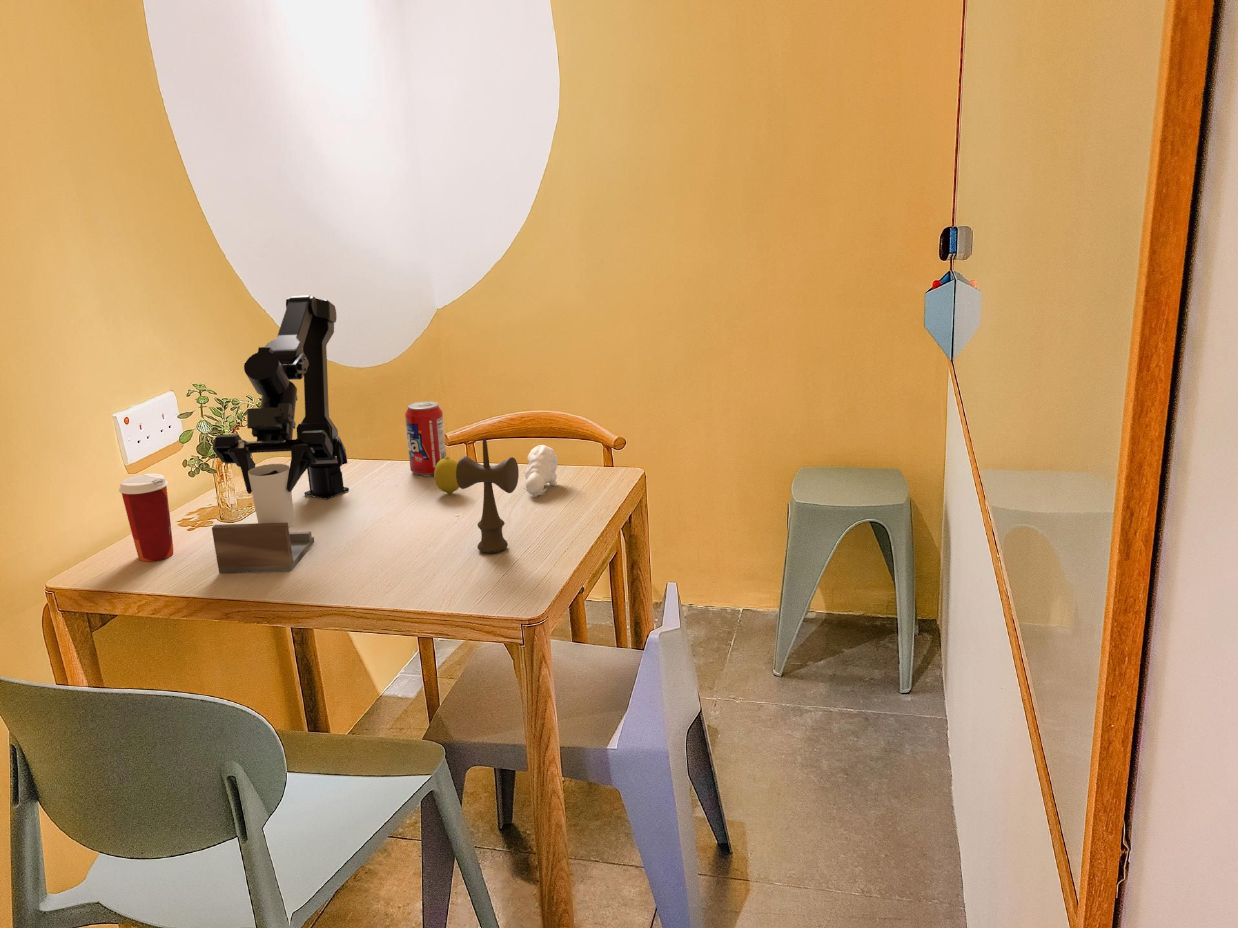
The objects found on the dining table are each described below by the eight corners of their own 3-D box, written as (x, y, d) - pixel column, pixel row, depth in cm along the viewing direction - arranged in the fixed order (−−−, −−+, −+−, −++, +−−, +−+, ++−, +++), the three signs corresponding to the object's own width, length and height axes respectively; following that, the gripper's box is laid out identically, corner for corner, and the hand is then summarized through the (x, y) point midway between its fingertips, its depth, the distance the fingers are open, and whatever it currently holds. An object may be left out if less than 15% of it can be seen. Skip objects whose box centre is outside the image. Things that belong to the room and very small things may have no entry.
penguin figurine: (558, 442, 204) (546, 464, 193) (561, 479, 207) (549, 503, 196) (528, 441, 205) (515, 463, 194) (532, 479, 208) (518, 502, 197)
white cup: (260, 520, 173) (252, 465, 170) (300, 517, 174) (292, 462, 171) (252, 534, 166) (243, 477, 163) (293, 531, 167) (285, 474, 164)
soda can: (450, 474, 214) (444, 406, 209) (413, 479, 211) (407, 410, 207) (444, 465, 221) (438, 398, 216) (408, 469, 218) (401, 402, 214)
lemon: (466, 490, 203) (463, 452, 201) (460, 499, 198) (456, 460, 195) (440, 490, 204) (436, 452, 201) (432, 499, 198) (429, 460, 196)
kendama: (512, 558, 167) (504, 443, 162) (459, 554, 170) (450, 441, 164) (525, 545, 173) (518, 433, 167) (474, 541, 176) (465, 431, 170)
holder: (247, 544, 178) (240, 501, 176) (314, 542, 178) (308, 499, 176) (219, 573, 166) (211, 527, 163) (291, 571, 165) (284, 525, 163)
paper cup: (189, 549, 176) (176, 474, 172) (157, 566, 169) (143, 487, 165) (154, 545, 179) (140, 471, 175) (121, 561, 172) (106, 484, 168)
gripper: (206, 389, 166) (194, 472, 159) (320, 384, 167) (313, 467, 160) (229, 422, 176) (218, 502, 169) (336, 417, 177) (329, 497, 170)
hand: (268, 491), depth 167 cm, fingers closed on white cup, 6 cm apart
